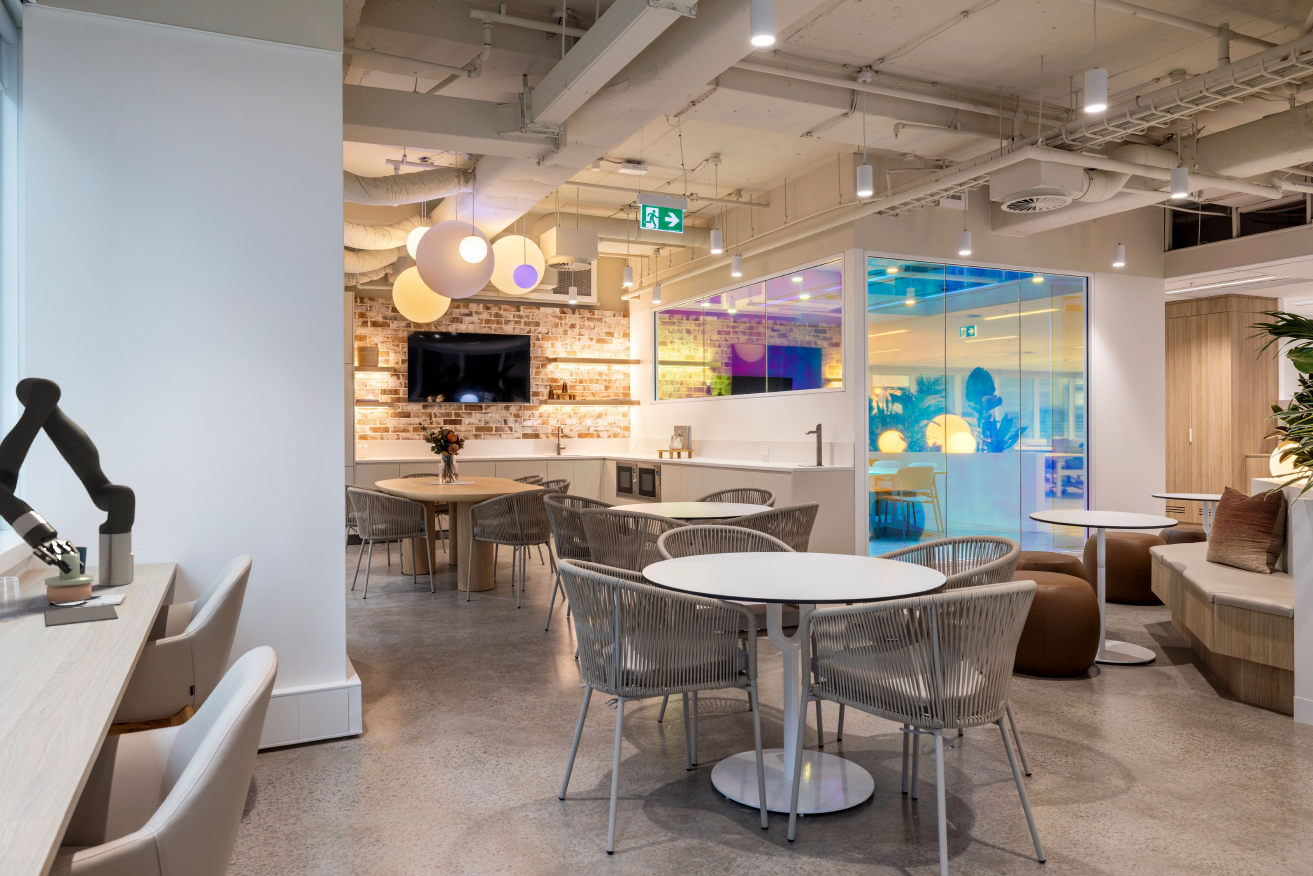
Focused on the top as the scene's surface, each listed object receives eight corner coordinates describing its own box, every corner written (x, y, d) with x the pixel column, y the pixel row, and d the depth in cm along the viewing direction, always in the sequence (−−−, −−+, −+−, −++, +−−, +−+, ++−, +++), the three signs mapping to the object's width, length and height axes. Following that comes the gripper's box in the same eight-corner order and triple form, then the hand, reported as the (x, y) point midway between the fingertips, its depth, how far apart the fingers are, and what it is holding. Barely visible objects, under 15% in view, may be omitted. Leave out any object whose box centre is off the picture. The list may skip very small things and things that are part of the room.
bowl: (68, 598, 255) (68, 580, 255) (100, 600, 253) (100, 582, 253) (37, 606, 244) (37, 587, 244) (70, 608, 243) (70, 589, 242)
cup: (92, 594, 262) (92, 547, 261) (74, 598, 255) (75, 550, 255) (72, 593, 262) (72, 546, 262) (54, 598, 256) (54, 549, 255)
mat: (45, 610, 239) (45, 609, 239) (111, 604, 248) (111, 602, 248) (46, 626, 221) (46, 624, 221) (118, 618, 231) (118, 617, 231)
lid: (68, 577, 256) (68, 550, 255) (103, 579, 254) (103, 552, 254) (34, 585, 244) (34, 557, 243) (70, 586, 242) (70, 558, 242)
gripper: (26, 524, 241) (69, 565, 242) (60, 518, 255) (100, 557, 256) (7, 542, 241) (50, 583, 242) (42, 535, 255) (82, 574, 256)
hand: (75, 570), depth 249 cm, fingers closed on lid, 5 cm apart
